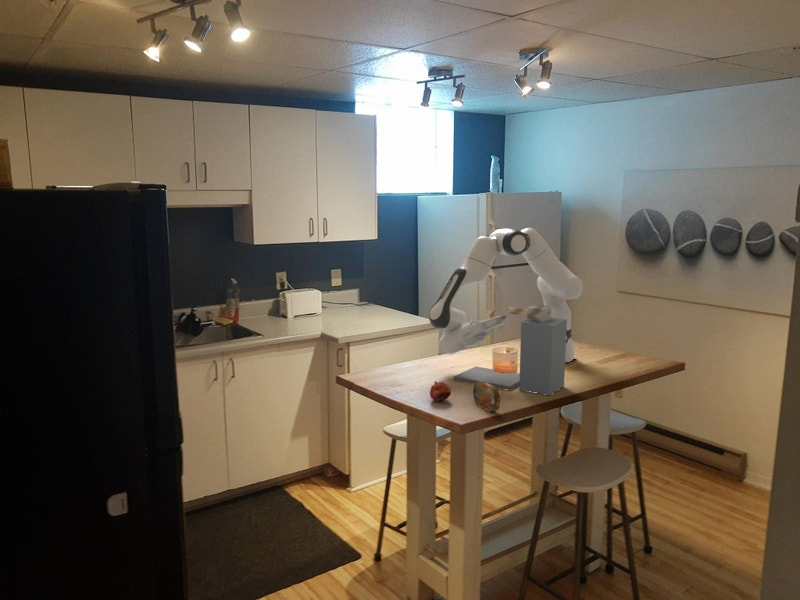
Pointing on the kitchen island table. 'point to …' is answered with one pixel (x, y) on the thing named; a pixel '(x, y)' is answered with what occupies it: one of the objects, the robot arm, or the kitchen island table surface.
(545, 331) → the stand
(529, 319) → the mallet
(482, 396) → the tin
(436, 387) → the pomegranate
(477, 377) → the board
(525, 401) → the kitchen island table surface
